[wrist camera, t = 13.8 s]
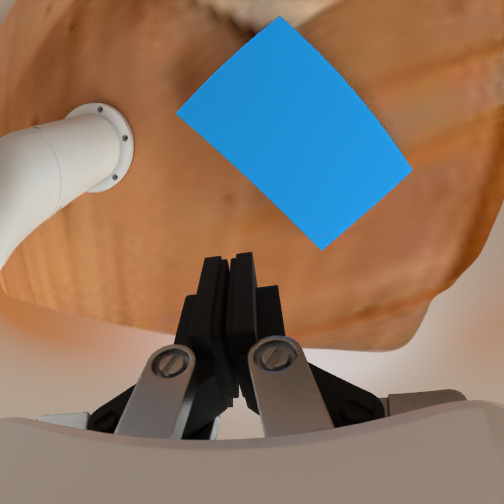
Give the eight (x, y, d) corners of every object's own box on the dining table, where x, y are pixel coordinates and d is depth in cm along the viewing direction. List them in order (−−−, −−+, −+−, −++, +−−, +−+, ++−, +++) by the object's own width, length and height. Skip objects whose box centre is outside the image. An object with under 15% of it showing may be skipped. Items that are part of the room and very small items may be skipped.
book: (322, 251, 39) (173, 115, 30) (315, 237, 43) (180, 113, 34) (417, 166, 33) (281, 11, 24) (402, 159, 37) (277, 20, 28)
